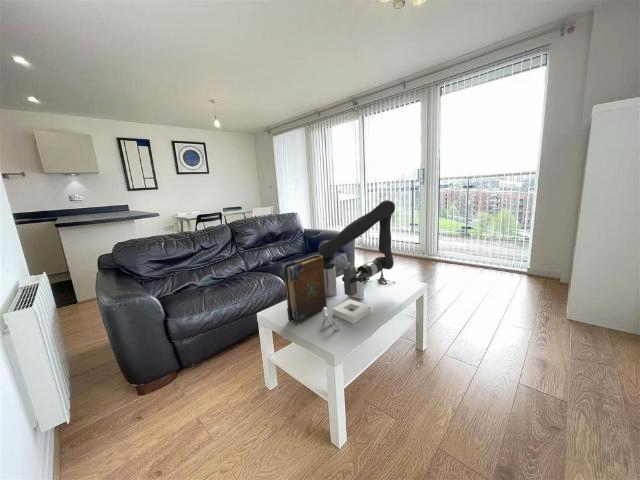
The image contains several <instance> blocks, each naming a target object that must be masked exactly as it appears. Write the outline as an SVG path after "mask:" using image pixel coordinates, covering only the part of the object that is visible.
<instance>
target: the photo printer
mask: <svg viewBox="0 0 640 480" xmlns="http://www.w3.org/2000/svg"><path fill="white" fill-rule="evenodd" d="M352 297H353V298H356V299H359V300H362V299H364V298H365V290H364V284H363V282H359V281H358V282H357V294H355V295H353V296H352Z"/></svg>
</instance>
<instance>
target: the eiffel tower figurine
mask: <svg viewBox="0 0 640 480" xmlns="http://www.w3.org/2000/svg"><path fill="white" fill-rule="evenodd" d="M376 281H377V283H378V285H387V284H388V282H390V280H388V279H385V277H384V272H383V269H382V270H381V271H380V277H379V278H376ZM372 282H373V280H369V283H372ZM383 282H385V284H384V283H383ZM392 282H393V283H392V284H396V283H397V282H395V281H392Z"/></svg>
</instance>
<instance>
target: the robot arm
mask: <svg viewBox="0 0 640 480" xmlns="http://www.w3.org/2000/svg"><path fill="white" fill-rule="evenodd" d="M395 210H396V204H395V203H394V201H392V200H390V199H388V200H387V199H386V200H385V199H384V200H383V201H381V202H380V203H379V204H378V205H376V206H375V207H374V208H372V210H371V211H369V212H367V213H366V214H364V215H362V216H360V217H358V218H356V219H355V220H354V221H352V222H350V223H348V225H346V226H345V227H344V228H343V229H342V230H341V231H340V232H339V233H338V234H337V235H336V236H335V237H333V238H332V239H330V240H326V239H325V240H322V241H321V242H319V245H318V255H321V256H323V265H324V278H325V290H326V297H333V296H335V295H336V294H337V293H338V292H337V291H338V288H337V274H336V260H335V254H336V253H337V252H338V251H339V250H341V249H342V248H343V247H345V246H346V245H348V244H349V243H351V242H354V240H356V239H357V238H358V239H359V237H360V236H362V235H363V234H365V233H366V232H368V231H369V230H370V229H371V228H372V227H373V226H375V225H376V224H377V223H379V233H378V252H380V253H382V254H383V255H384V256H377V257H375V259H373V261H370V262H366V263H365V264H362V265H360V266H357V267H358V268H357V270H356V277H354V278H352V279H350V283H351V284H352V283H354V282H358V281H359V282H364V281H366V282H367V281H370V278H372V277H373V276H375V275H376V274H379V273H381V270H382V271H383V270H391V269H393V267H394V263H395V262H394V258H393V253H392V232H391V231H392V230H391V224H392V223H391V221H392V215H393V214H394V213H395ZM341 281H342V282H344V276H342V277H341Z"/></svg>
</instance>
